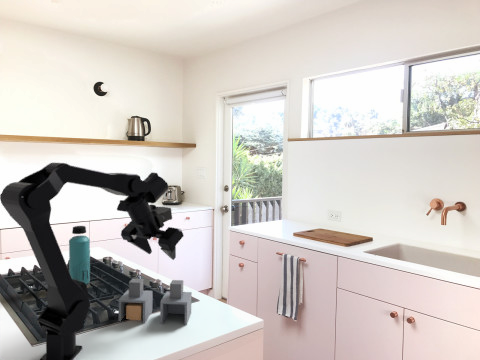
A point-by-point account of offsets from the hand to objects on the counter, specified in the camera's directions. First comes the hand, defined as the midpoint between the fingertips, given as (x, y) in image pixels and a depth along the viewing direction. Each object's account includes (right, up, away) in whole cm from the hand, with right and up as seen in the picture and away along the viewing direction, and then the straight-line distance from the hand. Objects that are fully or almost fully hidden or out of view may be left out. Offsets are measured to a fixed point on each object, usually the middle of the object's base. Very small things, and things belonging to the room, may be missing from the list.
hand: (162, 255), depth 105 cm
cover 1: (-6, -15, -6) cm, 17 cm away
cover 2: (+5, -16, -6) cm, 18 cm away
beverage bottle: (-30, -13, +14) cm, 36 cm away
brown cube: (-6, -15, -6) cm, 18 cm away
